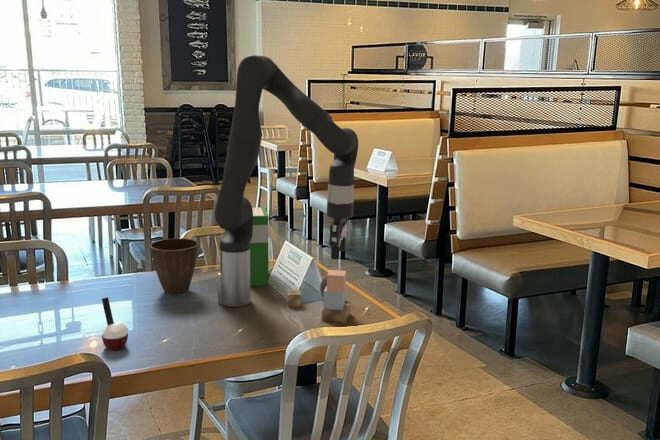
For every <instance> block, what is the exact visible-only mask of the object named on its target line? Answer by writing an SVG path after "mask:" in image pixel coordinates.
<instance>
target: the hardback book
mask: <svg viewBox="0 0 660 440" xmlns="http://www.w3.org/2000/svg"><path fill="white" fill-rule="evenodd" d="M252 209H253V234H252V240H251V242H250V287H253V286H254V287H257V286H258V287H259V286H269V214H268V211H267V209H266V207H265V205H263V204H261V205H260V207H252Z"/></svg>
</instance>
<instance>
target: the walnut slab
mask: <svg viewBox="0 0 660 440" xmlns="http://www.w3.org/2000/svg"><path fill="white" fill-rule="evenodd" d="M350 308H351V303H346V302H345V304H344V307H343V310H330V309H324V307H323V308H322V310H321V321H327V322H337V323H338V322H339V323H346V322H347V320H348V318H349V316H350V314H351V313H350V312H351V311H350V310H351V309H350Z"/></svg>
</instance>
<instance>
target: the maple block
mask: <svg viewBox="0 0 660 440" xmlns="http://www.w3.org/2000/svg"><path fill="white" fill-rule="evenodd" d="M301 301H302V293H301V290H300V289H296V290H295V289H294V290H293V289H292V290H286V305H287V308H298V307H301V306H302V305H301V304H302V302H301Z"/></svg>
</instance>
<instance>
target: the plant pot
mask: <svg viewBox="0 0 660 440" xmlns="http://www.w3.org/2000/svg"><path fill="white" fill-rule="evenodd" d="M149 248H150V252H151V257H152V262H153V265H154V269H155V272H156V274H157V278H158V280H159V283H160V285H161V287H162V289H163V292H164V294H166V295H169V296H179V295H184V294H186V293H188V292H189V289H190V287H191V284H192V279H193V276H194V272H195V267H196V264H197V257H198V249H199V242H198V241H197V240H195V239H190V238H167V239H166V238H165V239H161V240H156V241H153V242H151V243H150V245H149Z"/></svg>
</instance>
